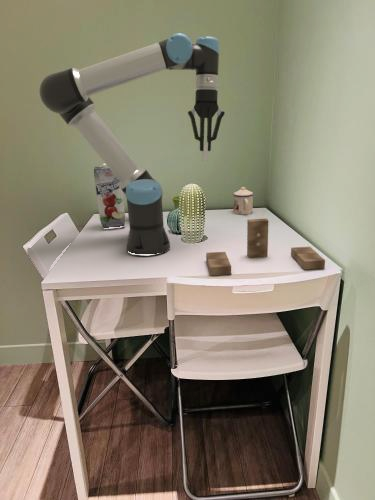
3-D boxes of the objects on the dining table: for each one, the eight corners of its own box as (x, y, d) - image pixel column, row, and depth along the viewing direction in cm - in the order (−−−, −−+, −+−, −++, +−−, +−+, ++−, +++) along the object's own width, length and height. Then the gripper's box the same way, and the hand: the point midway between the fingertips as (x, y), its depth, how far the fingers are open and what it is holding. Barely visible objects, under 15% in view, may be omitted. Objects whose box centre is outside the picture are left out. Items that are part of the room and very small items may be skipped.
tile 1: (206, 260, 117) (210, 276, 105) (206, 252, 116) (210, 267, 105) (225, 259, 117) (231, 274, 106) (225, 251, 116) (231, 266, 105)
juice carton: (100, 226, 161) (92, 162, 152) (124, 223, 164) (118, 161, 154) (101, 231, 153) (92, 165, 144) (126, 228, 155) (120, 163, 146)
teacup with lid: (231, 210, 176) (231, 186, 172) (250, 209, 177) (250, 185, 173) (236, 217, 165) (236, 191, 161) (256, 215, 166) (257, 189, 162)
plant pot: (196, 216, 170) (196, 197, 167) (178, 219, 166) (177, 200, 163) (186, 212, 178) (186, 194, 175) (169, 215, 173) (168, 197, 170)
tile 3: (290, 255, 118) (303, 270, 106) (291, 247, 117) (304, 261, 105) (309, 254, 118) (324, 269, 106) (310, 246, 117) (325, 260, 106)
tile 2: (248, 258, 117) (249, 221, 113) (247, 255, 120) (247, 219, 116) (267, 257, 117) (268, 220, 113) (265, 254, 120) (266, 218, 116)
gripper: (188, 88, 121) (187, 161, 129) (227, 88, 123) (224, 161, 130) (186, 90, 128) (186, 159, 136) (223, 90, 130) (220, 159, 137)
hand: (204, 160), depth 133 cm, fingers closed
